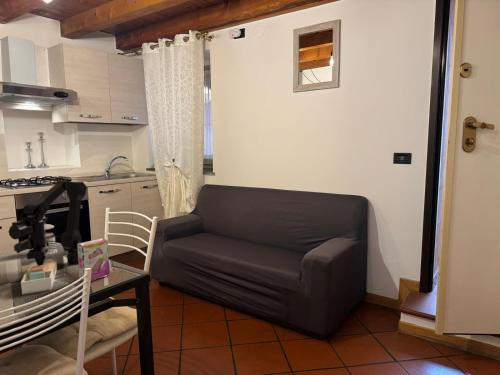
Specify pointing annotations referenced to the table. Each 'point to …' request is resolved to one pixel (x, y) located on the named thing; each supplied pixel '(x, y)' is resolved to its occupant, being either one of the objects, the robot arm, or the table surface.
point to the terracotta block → (37, 268)
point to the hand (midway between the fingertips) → (40, 267)
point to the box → (37, 284)
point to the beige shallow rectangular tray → (49, 266)
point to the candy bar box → (94, 257)
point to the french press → (50, 240)
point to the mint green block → (37, 275)
